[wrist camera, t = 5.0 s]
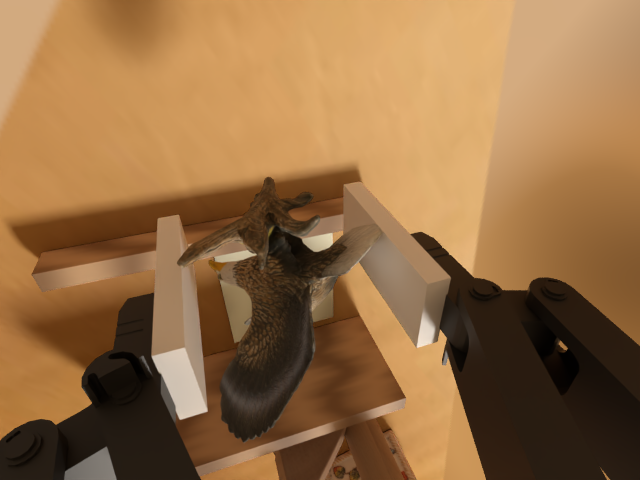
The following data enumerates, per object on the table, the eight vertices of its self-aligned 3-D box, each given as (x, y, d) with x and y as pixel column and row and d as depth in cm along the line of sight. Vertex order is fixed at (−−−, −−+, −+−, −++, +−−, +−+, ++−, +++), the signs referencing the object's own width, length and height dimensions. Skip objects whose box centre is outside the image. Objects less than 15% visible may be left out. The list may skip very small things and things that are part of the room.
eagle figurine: (100, 223, 12) (177, 403, 17) (262, 299, 8) (303, 506, 13) (266, 151, 17) (290, 305, 22) (414, 177, 13) (405, 357, 18)
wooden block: (261, 373, 40) (310, 586, 26) (354, 356, 44) (442, 536, 30) (260, 395, 42) (305, 604, 28) (349, 377, 46) (429, 555, 32)
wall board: (119, 390, 35) (104, 508, 28) (42, 252, 26) (-13, 370, 18) (359, 325, 41) (404, 407, 33) (365, 193, 32) (429, 263, 24)
